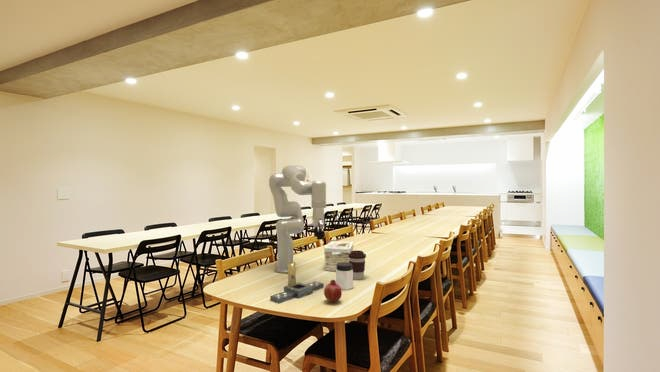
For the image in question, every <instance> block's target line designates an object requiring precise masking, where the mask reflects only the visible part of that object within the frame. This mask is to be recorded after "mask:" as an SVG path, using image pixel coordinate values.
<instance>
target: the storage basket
mask: <svg viewBox="0 0 660 372" xmlns="http://www.w3.org/2000/svg"><path fill="white" fill-rule="evenodd" d="M353 248H354V241H333V240H332V241H330V242H328V243H327V244H326V245H325V246H324V249H323V250H324V254H323V255H324V267H325V268H324V269H325V271H329V272H332V271H333V272H336V269H337V263H342V262H347V263H349V260H350V259H349V257H348V254H350V253H351V251H354V249H353Z"/></svg>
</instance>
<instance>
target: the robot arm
mask: <svg viewBox="0 0 660 372" xmlns="http://www.w3.org/2000/svg"><path fill="white" fill-rule="evenodd" d="M306 170H307V169H306V168H305V167H304V166H303V165H286V166H283V168H282V170H281V172H279V173H272V174H271V175H270V176H269V179H268V187H269V190H270V192H271V194H272V197H273V202H274V209H275V214H276V216H277V217H278V218H281V219H279V220H278V221H276V223H275V230H276V238H277V261H276V262H275V263H274V266H276V267H275V269H274V272H276V273H280V274H288V263H290V262H294V240H293V238H292V236H291V235H293V234H294V235H295V234H301V233H302V232H303V231H304V228H305V223H304V217H303V212H302V208H301V205H300V204H299V202H297V201H290V200H289V199H288V194H287V193H286V191H285V190H284V189H283V187H284V188H286V187H289V188H291V189H290V190H291V191H293V192H294V193H295V194H297V195H298V196H299V195H300V196H311V202H310V203H311V209H312V216H311V217H312V221H311V222H312V223H311V225H312V226H313V228H314V229H313V237H316V240H318V241H319V240H324V227H325V209H326V208H327V205H326V204H327V184H326V181H317V180H306V175H307V171H306Z"/></svg>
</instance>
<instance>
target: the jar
mask: <svg viewBox="0 0 660 372" xmlns="http://www.w3.org/2000/svg"><path fill="white" fill-rule="evenodd" d="M335 281H336V284H337V285H339V286H340V288H341V291H342V290H344V291H347V290H351V289H354V279H353V270H352V264H351V263H347V262H342V263H337V269H336V271H335Z"/></svg>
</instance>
